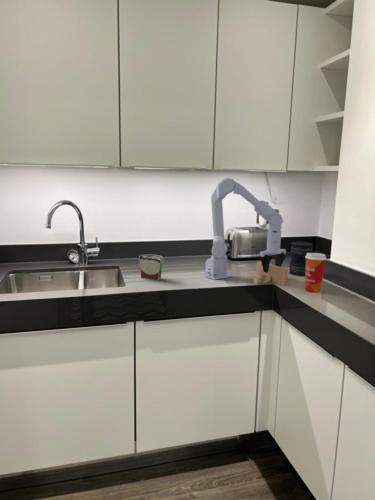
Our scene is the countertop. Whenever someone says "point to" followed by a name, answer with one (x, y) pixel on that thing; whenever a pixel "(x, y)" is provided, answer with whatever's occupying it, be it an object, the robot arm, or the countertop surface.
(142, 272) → the food container
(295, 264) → the storage jar
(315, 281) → the coffee cup
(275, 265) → the robot arm
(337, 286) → the countertop surface
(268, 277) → the birch slotted plate
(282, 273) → the terracotta slotted plate
